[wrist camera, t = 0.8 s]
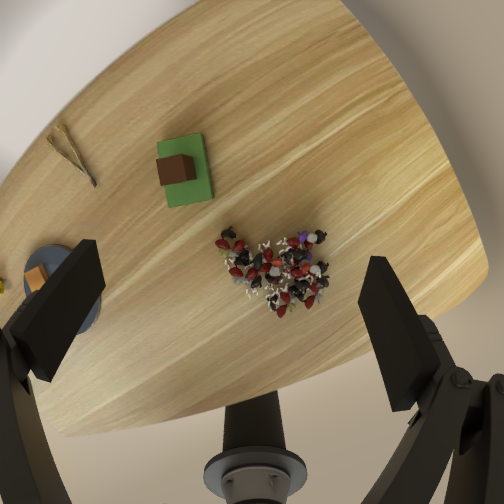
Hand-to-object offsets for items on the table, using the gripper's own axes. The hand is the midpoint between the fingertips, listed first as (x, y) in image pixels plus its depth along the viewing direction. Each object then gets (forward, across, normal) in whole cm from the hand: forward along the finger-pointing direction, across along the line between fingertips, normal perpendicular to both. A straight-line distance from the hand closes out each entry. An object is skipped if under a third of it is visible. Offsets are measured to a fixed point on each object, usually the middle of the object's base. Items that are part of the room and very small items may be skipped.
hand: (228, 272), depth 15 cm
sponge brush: (+30, +9, +4) cm, 31 cm away
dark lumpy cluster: (+27, -5, +16) cm, 32 cm away
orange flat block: (+23, +34, +20) cm, 46 cm away
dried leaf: (+28, +27, +1) cm, 39 cm away
